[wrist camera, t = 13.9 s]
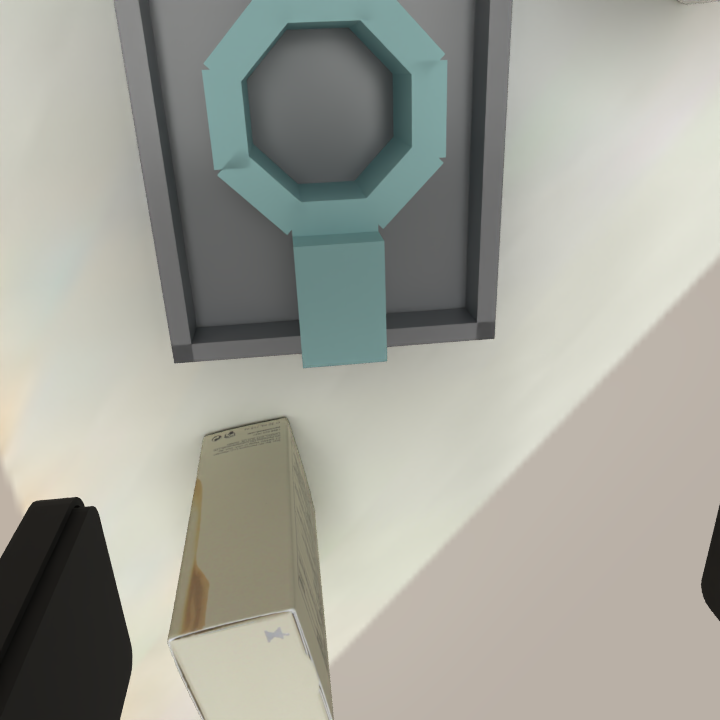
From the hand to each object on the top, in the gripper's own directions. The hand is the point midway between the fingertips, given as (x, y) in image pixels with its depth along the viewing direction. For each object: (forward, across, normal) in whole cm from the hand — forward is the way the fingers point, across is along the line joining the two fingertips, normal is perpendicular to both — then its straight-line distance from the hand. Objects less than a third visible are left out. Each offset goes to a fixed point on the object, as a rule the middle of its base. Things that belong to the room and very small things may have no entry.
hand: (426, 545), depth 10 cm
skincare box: (+20, +4, +12) cm, 24 cm away
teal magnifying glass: (+20, 0, -3) cm, 20 cm away
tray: (+20, 0, -4) cm, 21 cm away
